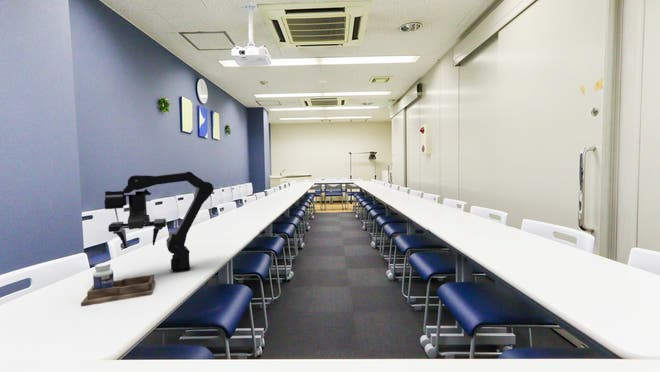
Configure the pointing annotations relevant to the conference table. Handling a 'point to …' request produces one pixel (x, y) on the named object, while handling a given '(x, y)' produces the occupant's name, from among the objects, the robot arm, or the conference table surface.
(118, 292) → the keyhole track
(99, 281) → the pill bottle
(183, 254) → the robot arm
